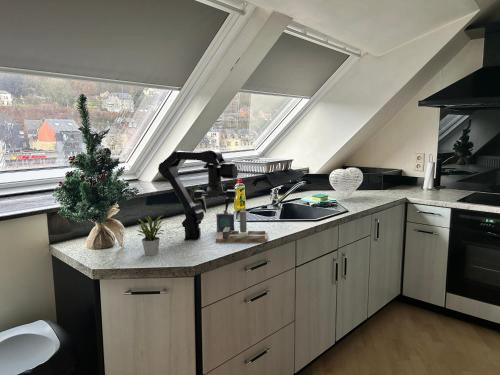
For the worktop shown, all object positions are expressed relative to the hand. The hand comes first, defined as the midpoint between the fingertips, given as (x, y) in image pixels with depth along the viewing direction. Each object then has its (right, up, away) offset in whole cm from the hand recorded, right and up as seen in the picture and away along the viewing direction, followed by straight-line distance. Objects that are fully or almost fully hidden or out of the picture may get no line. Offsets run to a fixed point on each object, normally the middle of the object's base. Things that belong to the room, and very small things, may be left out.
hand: (215, 212), depth 173 cm
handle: (+12, -11, +4) cm, 17 cm away
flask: (+3, -11, +19) cm, 22 cm away
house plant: (-24, -16, -14) cm, 32 cm away
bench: (+12, -12, +4) cm, 18 cm away
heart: (+84, +3, +101) cm, 131 cm away
